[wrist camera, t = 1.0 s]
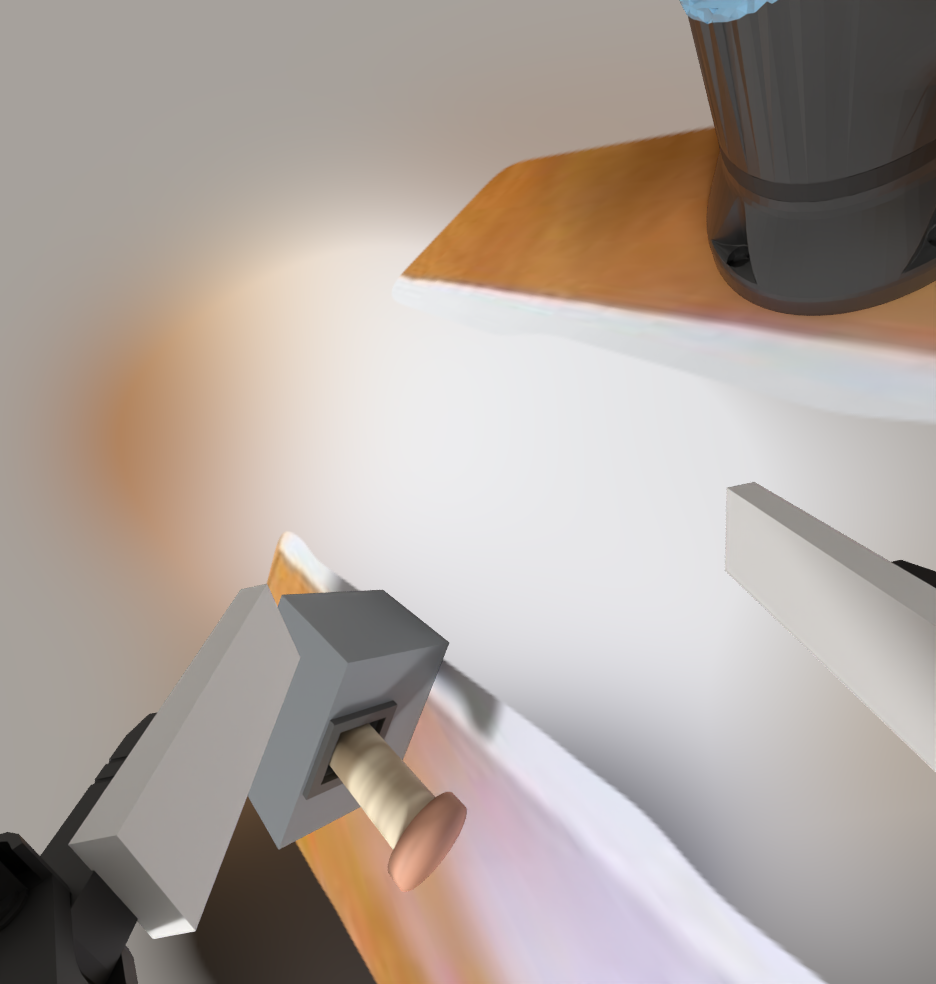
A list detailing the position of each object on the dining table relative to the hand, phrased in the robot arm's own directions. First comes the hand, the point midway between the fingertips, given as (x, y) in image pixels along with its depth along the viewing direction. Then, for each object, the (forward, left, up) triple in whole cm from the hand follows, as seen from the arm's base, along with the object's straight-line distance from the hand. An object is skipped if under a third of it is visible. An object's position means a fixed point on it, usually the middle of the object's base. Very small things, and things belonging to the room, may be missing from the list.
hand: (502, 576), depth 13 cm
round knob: (+20, -16, -18) cm, 31 cm away
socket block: (+19, -24, -23) cm, 38 cm away
